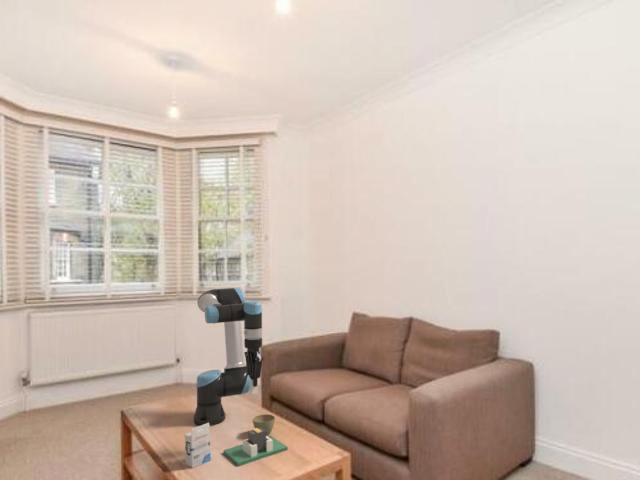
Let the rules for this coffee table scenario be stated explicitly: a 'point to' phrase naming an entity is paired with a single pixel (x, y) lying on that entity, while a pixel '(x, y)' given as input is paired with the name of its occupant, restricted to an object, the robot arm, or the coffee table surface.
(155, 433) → the coffee table surface
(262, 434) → the plug
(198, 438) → the ink box
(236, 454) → the board
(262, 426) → the flower pot
